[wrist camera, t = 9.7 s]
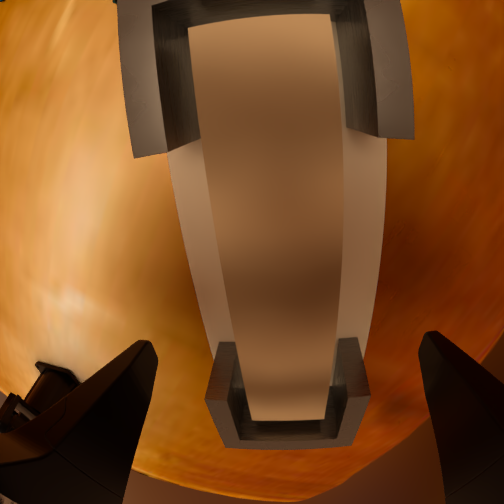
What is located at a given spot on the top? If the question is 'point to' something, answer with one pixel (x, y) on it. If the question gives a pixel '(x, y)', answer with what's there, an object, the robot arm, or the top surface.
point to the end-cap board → (354, 231)
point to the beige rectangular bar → (275, 199)
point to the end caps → (187, 130)
